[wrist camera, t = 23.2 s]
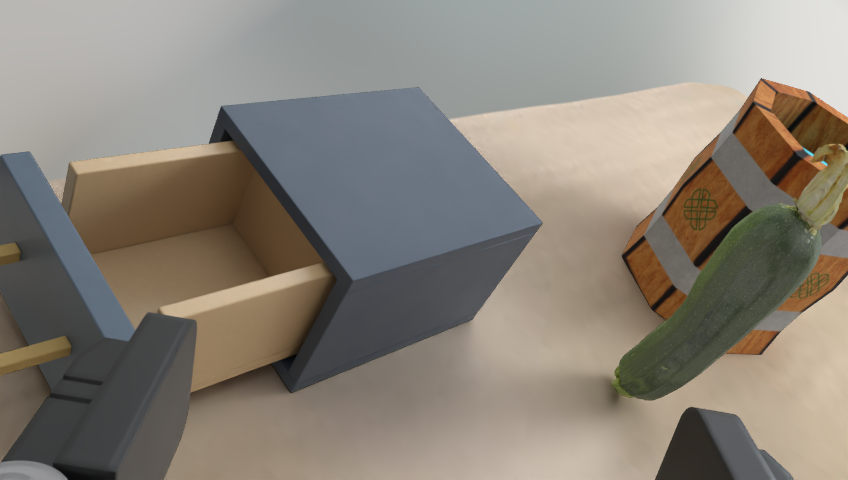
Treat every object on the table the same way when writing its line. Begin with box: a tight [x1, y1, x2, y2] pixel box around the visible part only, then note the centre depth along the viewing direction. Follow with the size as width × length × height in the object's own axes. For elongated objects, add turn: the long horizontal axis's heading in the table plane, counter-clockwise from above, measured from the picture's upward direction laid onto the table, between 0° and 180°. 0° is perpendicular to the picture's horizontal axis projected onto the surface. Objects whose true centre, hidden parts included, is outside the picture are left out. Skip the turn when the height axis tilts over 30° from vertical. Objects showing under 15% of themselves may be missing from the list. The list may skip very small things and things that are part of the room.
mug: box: [622, 78, 848, 354], centre depth 60 cm, size 20×14×15 cm
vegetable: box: [611, 144, 848, 400], centre depth 43 cm, size 4×4×20 cm
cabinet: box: [209, 87, 543, 393], centre depth 44 cm, size 14×12×9 cm
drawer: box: [0, 141, 337, 392], centre depth 35 cm, size 17×10×7 cm, turn 130°
